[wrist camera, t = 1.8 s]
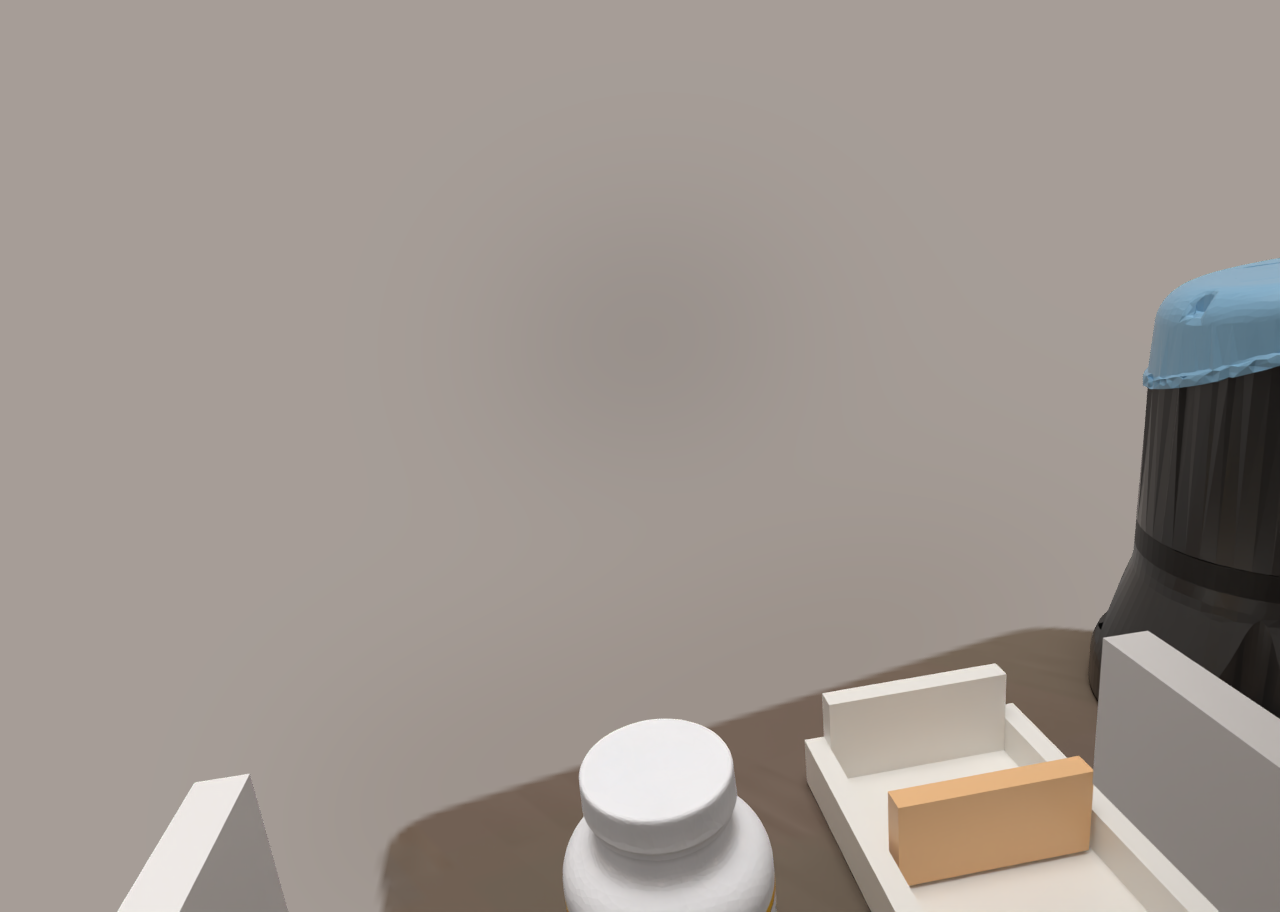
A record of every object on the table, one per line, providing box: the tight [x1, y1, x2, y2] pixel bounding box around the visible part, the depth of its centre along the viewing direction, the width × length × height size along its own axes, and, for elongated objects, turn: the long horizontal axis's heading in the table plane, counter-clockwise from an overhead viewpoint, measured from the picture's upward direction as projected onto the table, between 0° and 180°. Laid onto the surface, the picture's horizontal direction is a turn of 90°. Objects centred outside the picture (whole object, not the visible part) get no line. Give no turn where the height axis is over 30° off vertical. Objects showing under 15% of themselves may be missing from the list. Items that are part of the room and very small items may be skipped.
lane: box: [805, 664, 1219, 912], centre depth 33 cm, size 11×18×5 cm, turn 8°
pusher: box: [888, 756, 1093, 886], centre depth 34 cm, size 8×1×4 cm, turn 98°
